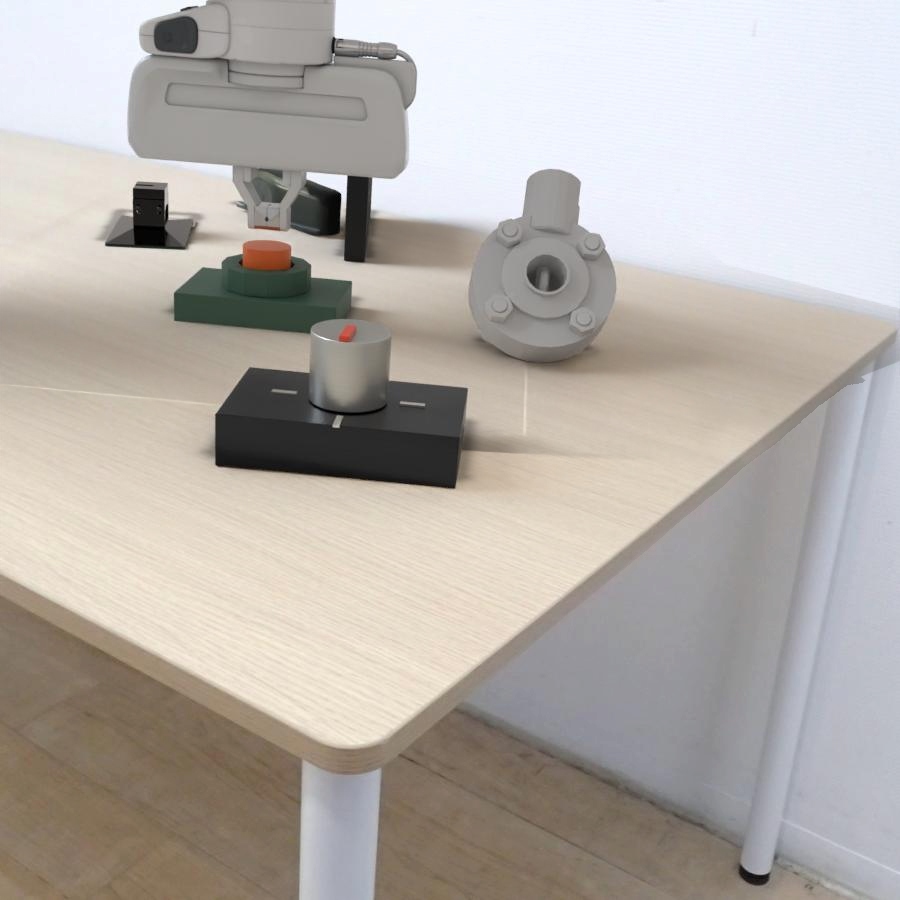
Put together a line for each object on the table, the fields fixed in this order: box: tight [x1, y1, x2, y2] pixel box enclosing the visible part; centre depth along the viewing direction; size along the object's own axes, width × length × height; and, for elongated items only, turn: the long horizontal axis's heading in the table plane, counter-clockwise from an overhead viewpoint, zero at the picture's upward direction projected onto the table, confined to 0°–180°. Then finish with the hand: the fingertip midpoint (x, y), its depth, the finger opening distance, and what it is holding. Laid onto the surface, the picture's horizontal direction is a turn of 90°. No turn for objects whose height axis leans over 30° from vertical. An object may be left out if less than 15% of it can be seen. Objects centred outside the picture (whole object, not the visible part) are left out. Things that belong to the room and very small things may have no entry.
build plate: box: [104, 181, 197, 251], centre depth 111 cm, size 12×7×5 cm, turn 8°
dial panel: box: [214, 366, 469, 490], centre depth 66 cm, size 13×9×3 cm, turn 86°
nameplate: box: [343, 175, 373, 262], centre depth 115 cm, size 21×2×10 cm, turn 2°
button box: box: [173, 253, 353, 334], centre depth 89 cm, size 12×8×4 cm, turn 86°
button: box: [242, 239, 292, 270], centre depth 88 cm, size 4×4×2 cm
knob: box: [308, 318, 393, 413], centre depth 65 cm, size 4×4×4 cm
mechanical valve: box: [467, 168, 617, 363], centre depth 91 cm, size 10×18×15 cm
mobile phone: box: [236, 168, 342, 237], centre depth 120 cm, size 5×3×15 cm
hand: (269, 228), depth 88 cm, fingers closed
